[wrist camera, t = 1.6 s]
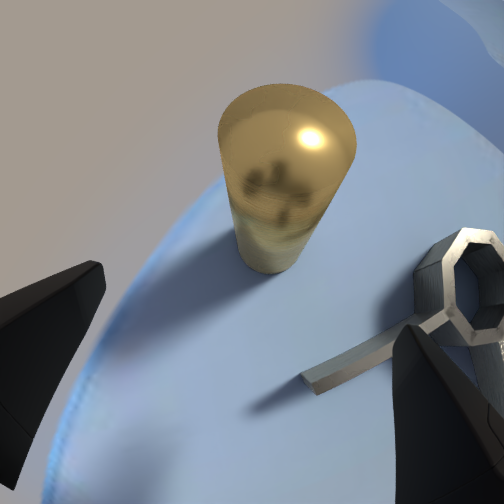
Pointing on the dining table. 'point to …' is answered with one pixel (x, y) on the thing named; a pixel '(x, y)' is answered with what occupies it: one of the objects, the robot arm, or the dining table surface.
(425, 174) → the dining table surface
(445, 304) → the grey ring with arms
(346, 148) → the hinge pin
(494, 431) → the robot arm
